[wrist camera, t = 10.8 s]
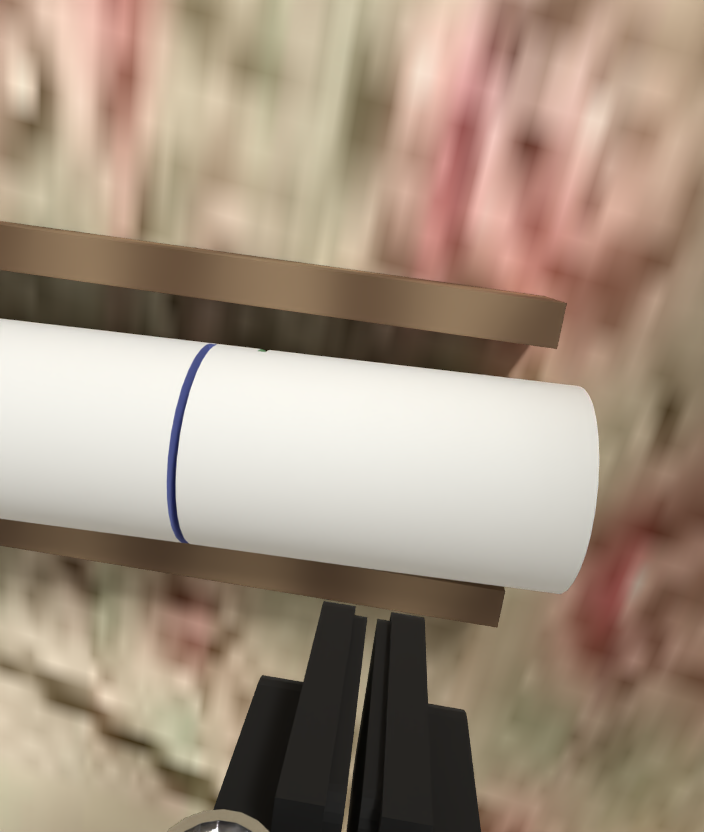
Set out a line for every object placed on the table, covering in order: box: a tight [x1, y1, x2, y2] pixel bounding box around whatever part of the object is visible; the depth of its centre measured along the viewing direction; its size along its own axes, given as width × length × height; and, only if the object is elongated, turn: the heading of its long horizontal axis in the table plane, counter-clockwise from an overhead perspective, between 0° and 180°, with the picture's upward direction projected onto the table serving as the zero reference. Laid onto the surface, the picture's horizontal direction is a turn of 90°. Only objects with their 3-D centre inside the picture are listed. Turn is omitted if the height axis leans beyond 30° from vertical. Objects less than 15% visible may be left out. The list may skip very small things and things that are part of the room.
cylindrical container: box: [0, 318, 599, 594], centre depth 23 cm, size 7×7×25 cm
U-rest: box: [0, 221, 567, 627], centre depth 24 cm, size 28×12×5 cm, turn 82°
